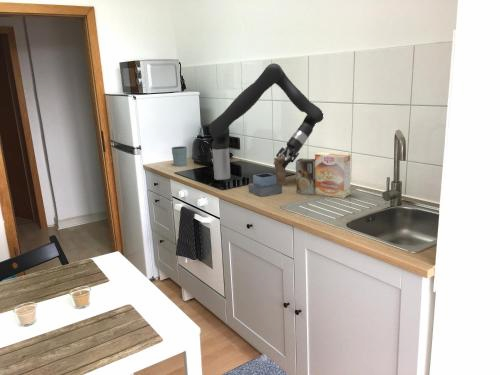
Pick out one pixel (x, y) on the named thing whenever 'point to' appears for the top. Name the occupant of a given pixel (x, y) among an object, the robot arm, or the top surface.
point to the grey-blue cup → (179, 155)
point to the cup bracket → (264, 185)
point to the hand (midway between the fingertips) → (279, 165)
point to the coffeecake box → (332, 174)
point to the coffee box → (305, 176)
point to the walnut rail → (280, 171)
